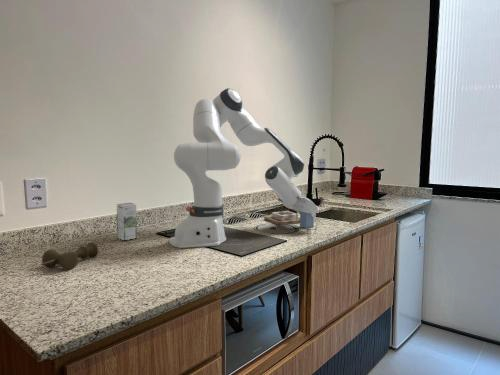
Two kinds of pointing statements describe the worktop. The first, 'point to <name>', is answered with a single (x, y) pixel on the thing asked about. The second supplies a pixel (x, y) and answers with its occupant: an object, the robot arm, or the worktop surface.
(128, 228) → the syrup box
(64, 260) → the kendama
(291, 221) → the walnut base board
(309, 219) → the slate block
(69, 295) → the worktop surface
